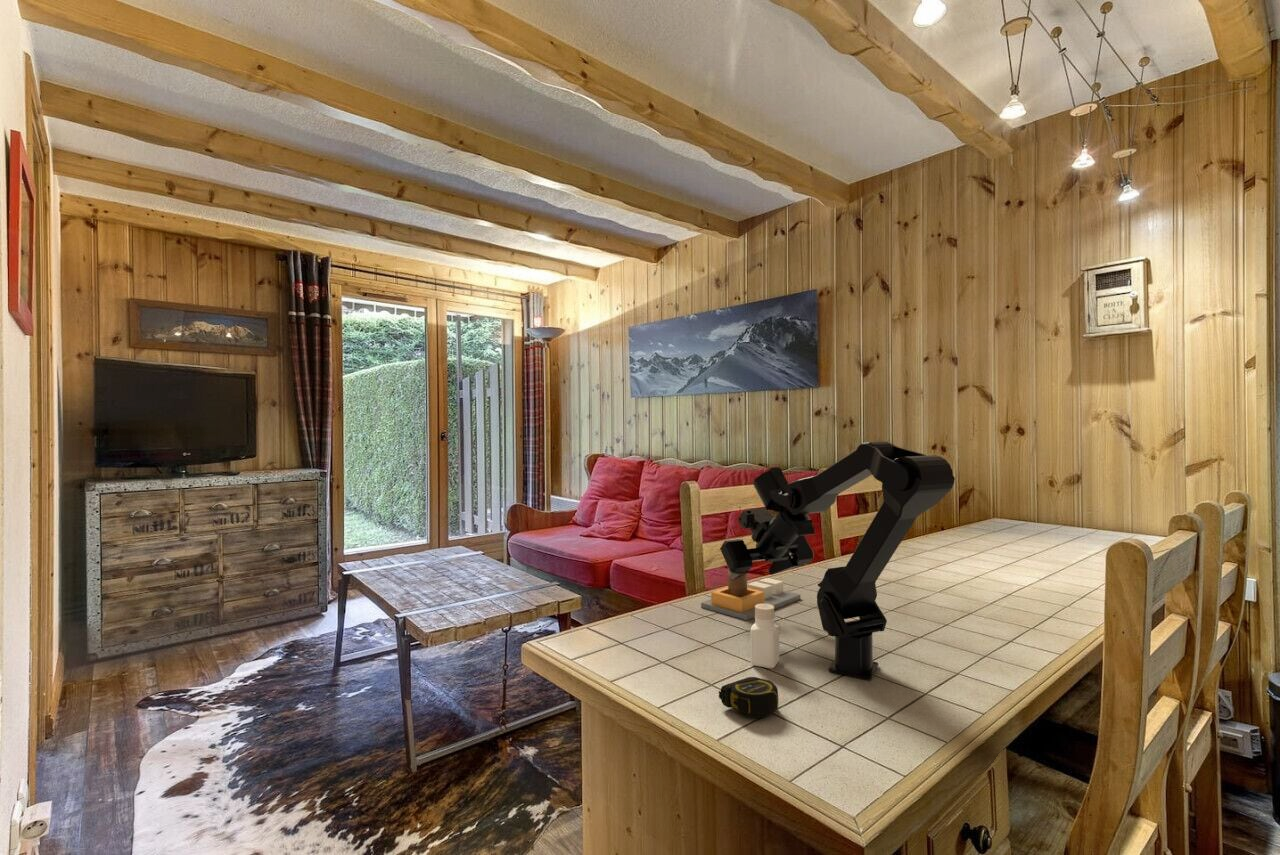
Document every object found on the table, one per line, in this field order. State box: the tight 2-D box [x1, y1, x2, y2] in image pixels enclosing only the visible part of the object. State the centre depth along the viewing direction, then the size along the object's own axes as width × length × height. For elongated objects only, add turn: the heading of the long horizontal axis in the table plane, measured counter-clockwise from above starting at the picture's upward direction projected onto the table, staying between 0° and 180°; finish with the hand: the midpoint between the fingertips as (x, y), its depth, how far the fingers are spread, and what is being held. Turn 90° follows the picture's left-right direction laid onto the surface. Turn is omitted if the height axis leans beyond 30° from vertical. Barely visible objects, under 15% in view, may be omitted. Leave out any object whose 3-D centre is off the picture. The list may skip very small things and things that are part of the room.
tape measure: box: [718, 676, 779, 719], centre depth 82 cm, size 7×7×4 cm
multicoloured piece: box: [700, 577, 801, 621], centre depth 130 cm, size 20×12×4 cm, turn 134°
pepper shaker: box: [750, 604, 780, 669], centre depth 98 cm, size 4×4×10 cm
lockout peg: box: [727, 543, 748, 597], centre depth 127 cm, size 4×4×12 cm
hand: (751, 575), depth 122 cm, fingers open, 9 cm apart
